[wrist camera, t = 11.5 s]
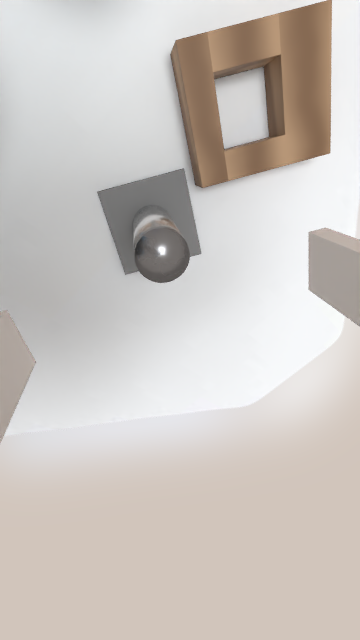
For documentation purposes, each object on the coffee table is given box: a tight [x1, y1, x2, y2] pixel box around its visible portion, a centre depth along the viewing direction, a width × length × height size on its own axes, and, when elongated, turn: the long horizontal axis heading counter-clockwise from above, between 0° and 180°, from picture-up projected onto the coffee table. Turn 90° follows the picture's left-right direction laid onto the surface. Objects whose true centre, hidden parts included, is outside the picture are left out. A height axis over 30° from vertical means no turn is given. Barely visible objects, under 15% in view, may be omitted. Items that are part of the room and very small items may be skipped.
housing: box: [170, 0, 332, 188], centre depth 31 cm, size 14×12×4 cm
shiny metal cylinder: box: [133, 205, 190, 283], centre depth 31 cm, size 5×5×13 cm
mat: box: [98, 169, 201, 274], centre depth 37 cm, size 10×10×1 cm
